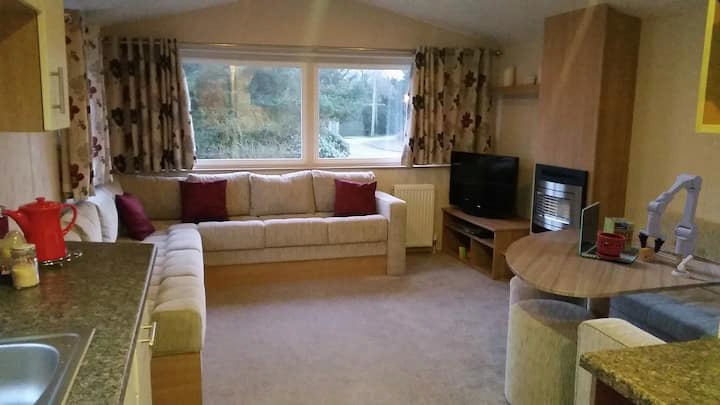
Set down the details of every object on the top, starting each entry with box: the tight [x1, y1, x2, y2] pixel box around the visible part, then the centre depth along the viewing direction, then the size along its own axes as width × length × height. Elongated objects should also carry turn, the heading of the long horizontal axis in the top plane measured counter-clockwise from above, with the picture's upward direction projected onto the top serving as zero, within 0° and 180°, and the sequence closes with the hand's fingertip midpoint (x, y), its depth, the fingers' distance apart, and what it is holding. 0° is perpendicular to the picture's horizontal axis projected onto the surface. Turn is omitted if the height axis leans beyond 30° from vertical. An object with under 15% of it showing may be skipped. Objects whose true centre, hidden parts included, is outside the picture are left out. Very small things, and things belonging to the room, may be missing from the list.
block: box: [637, 247, 654, 262], centre depth 272 cm, size 8×3×6 cm, turn 113°
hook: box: [671, 255, 694, 278], centre depth 249 cm, size 8×12×7 cm
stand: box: [638, 242, 684, 266], centre depth 277 cm, size 6×22×5 cm, turn 23°
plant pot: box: [595, 231, 626, 261], centre depth 272 cm, size 13×13×12 cm
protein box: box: [603, 216, 635, 252], centre depth 293 cm, size 10×15×16 cm
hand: (649, 250), depth 273 cm, fingers open, 7 cm apart
